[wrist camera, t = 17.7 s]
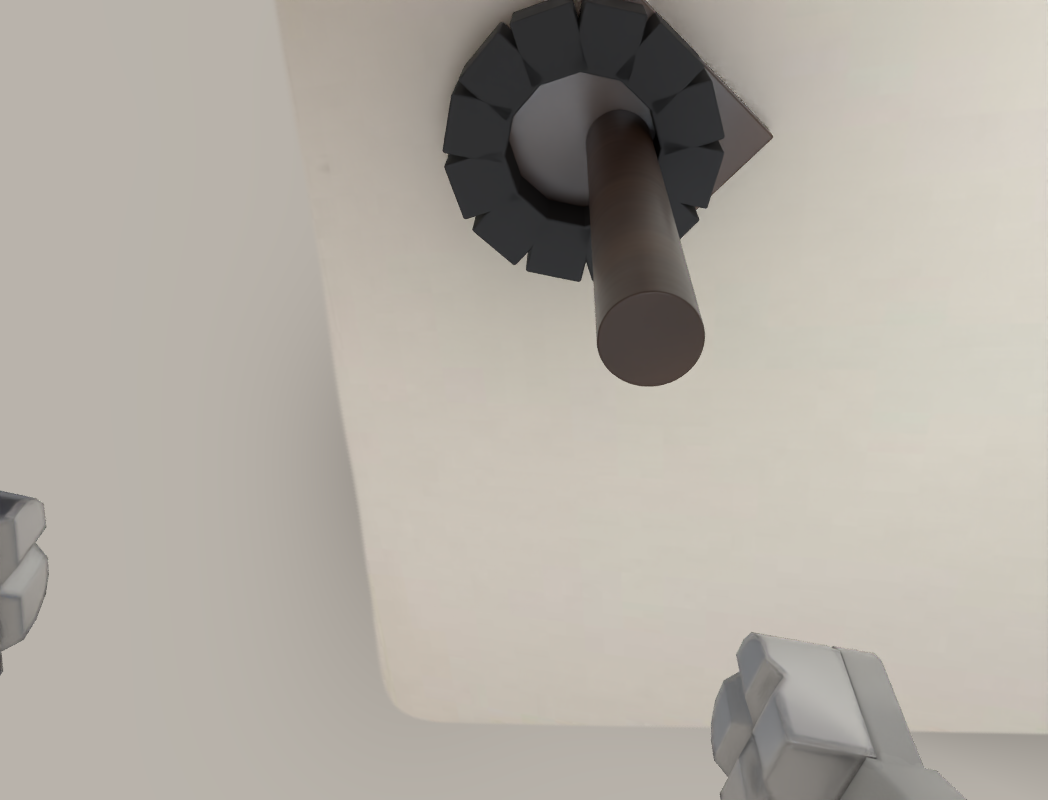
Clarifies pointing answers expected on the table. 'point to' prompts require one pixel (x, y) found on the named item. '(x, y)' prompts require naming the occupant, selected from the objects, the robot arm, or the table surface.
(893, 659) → the table surface
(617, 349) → the post
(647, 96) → the ring
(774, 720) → the robot arm
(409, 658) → the table surface
